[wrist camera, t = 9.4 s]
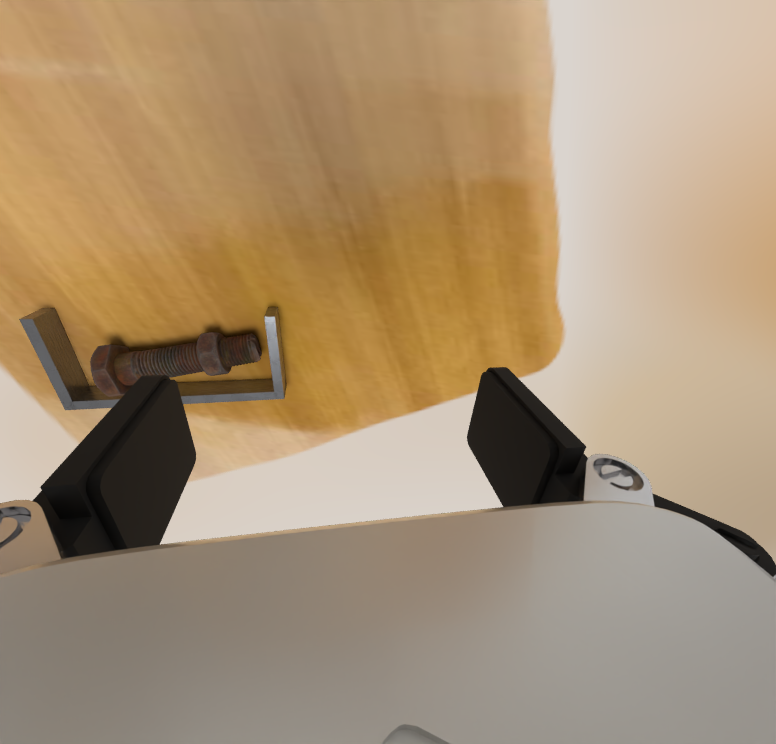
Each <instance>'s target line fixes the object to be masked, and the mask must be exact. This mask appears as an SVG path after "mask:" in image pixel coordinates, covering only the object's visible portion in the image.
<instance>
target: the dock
mask: <svg viewBox="0 0 776 744" xmlns="http://www.w3.org/2000/svg"><path fill="white" fill-rule="evenodd" d="M264 318H265V325H266V333H267V340H268V348H269V355H270V363H271V371H272V378H273V379H256V380H232V381H207V382H183V383H177V384H178V388H179V392H180V395H181V399H182V403H183V404H192V403H212V402H231V401H250V400H269V399H284V397H285V391H286V377H285V368H284V359H283V350H282V341H281V331H280V322H279V313H278V307H268V309H267V311H266V314H265V316H264ZM19 320H20V322H21V324H22V326H23V328H24V329H25V331H26V333H27V335H28V337H29V339H30V341H31V343H32V345H33V347H34V349H35V351H36V353H37V355H38V357H39V359H40V361H41V363H42V365H43V367H44V369H45V371H46V373H47V375H48V377H49V379H50V381H51V383H52V385H53V387H54V389H55V391H56V393H57V395H58V397H59V399H60V401H61V403H62V405H63V407H64V409H65V410H77V409H96V408H113V407H114V406H115V404H116V403H117V402H118V401H119V400H120V399H121V398H122V397H123V396H124V395H122V396H111V397H109V396H107V395H106V394H104V393H103V392H102V391H101V390H100V389H99V388H98V387H97V386H89V384H88V382H87V380H86V378H85V375H84V373H83V371H82V369H81V366H80V364H79V362H78V360H77V357H76V355H75V353H74V351H73V348H72V346H71V344H70V342H69V339H68V337H67V335H66V333H65V330H64V328H63V326H62V324H61V321H60V319H59V317H58V315H57V312H56V310H55V308H42V309H40V310H38V311H36V312H34V313H31V314H29V315H27V316H25V317H23V318H21V319H19Z"/></svg>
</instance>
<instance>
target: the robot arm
mask: <svg viewBox="0 0 776 744" xmlns="http://www.w3.org/2000/svg"><path fill="white" fill-rule="evenodd" d="M467 441H468V445H469V447H470V448H471V450H472V452H473V454H474V456H475V457H476V459H477V461H478V463H479V464H480V466H481V468H482V470H483V471H484V473H485V475H486V477H487V478H488V480H489V482H490V484H491V486H492V487H493V489H494V491H495V493H496V495H497V496H498V498H499V499H500V502H501V503H502V505H503V507H501V508H492V509H481V510H472V511H461V512H452V513H441V514H432V515H422V516H413V517H403V518H394V519H384V520H376V521H366V522H356V523H348V524H338V525H328V526H319V527H310V528H301V529H292V530H283V531H274V532H266V533H256V534H247V535H238V536H230V537H221V538H212V539H203V540H195V541H186V542H178V543H170V544H161V545H159V544H160V542H161V540H162V538H163V535H164V533H165V531H166V528H167V526H168V524H169V521H170V519H171V517H172V515H173V512H174V510H175V508H176V506H177V503H178V501H179V499H180V496H181V494H182V492H183V490H184V487H185V485H186V483H187V481H188V478H189V476H190V474H191V471H192V469H193V467H194V464H195V461H196V451H195V447H194V444H193V440H192V436H191V432H190V429H189V425H188V421H187V418H186V414H185V410H184V406H183V403H182V399H181V395H180V392H179V388H178V384H177V382H176V381H175V380H170V378H169V377H168V376H167V375H144V376H141V377H140V378H139V379H138V380H137V381H136V382H135V384H134V385H133V386H132V387H131V388H130V389H129V390H128V391H127V392H126V393H125V395H124V396H123V397H122V398H121V399H120V400H119V401H118V402H117V403H116V404H115V406H114V407H113V408H112V409H111V410H110V411H109V412H108V413H107V414H106V415H105V417H104V418H103V419H102V420H101V421H100V422H99V423H98V424H97V425H96V426H95V428H94V429H93V430H92V431H91V432H90V433H89V434H88V435H87V436H86V437H85V439H84V440H83V441H82V442H81V443H80V444H79V445H78V446H77V447H76V448H75V450H74V451H73V452H72V453H71V454H70V455H69V456H68V457H67V458H66V460H65V461H64V462H63V463H62V464H61V465H60V466H59V467H58V469H56V470H55V472H54V473H53V474H52V475H51V476H50V477H49V478H48V479H47V480H46V481H45V483H44V484H43V485H42V486H41V489H42V491H41V492H40V493H39V494H38V495H37V497H36V498H35V499H34V500H33V501H30V500H14V501H9V502H5V503H0V744H776V565H775V563H774V561H773V560H772V557H771V556H770V555H769V554H768V553H767V552H766V551H765V550H764V548H762V547H761V546H760V545H759V544H757V542H756V541H755V540H754V539H752V538H751V537H750V536H749V535H747V534H746V533H744V532H742V531H740V530H738V529H736V528H733V527H731V526H729V525H726V524H724V523H722V522H719V521H717V520H714V519H712V518H710V517H707V516H705V515H703V514H700V513H698V512H695V511H693V510H691V509H688V508H686V507H683V506H681V505H679V504H676V503H674V502H672V501H669V500H667V499H664V498H662V497H660V496H657V495H655V494H652V488H651V485H650V482H649V479H648V478H647V477H646V476H645V475H644V473H643V472H641V471H640V470H639V469H638V468H637V467H635V466H634V465H632V464H630V463H629V462H627V461H625V460H622V459H620V458H618V457H615V456H611V455H606V454H595V455H592V456H590V457H589V458H587V457H586V456H585V454H584V451H585V448H586V446H585V445H584V444H583V443H582V442H581V441H580V440H579V439H578V438H577V437H576V436H575V435H574V434H573V433H572V432H571V431H570V430H569V429H568V428H567V427H566V426H565V425H564V424H563V423H562V422H561V421H560V420H559V419H558V418H557V417H556V416H555V415H554V414H553V413H552V412H551V411H550V410H549V409H548V408H547V407H546V406H545V405H544V404H543V403H542V402H541V401H540V400H539V399H538V398H537V397H536V396H535V395H534V394H533V393H532V392H531V391H530V390H529V389H528V388H527V387H526V386H525V385H524V384H523V383H522V382H521V381H520V380H519V379H518V378H517V377H516V376H515V375H514V374H513V373H512V372H511V371H510V370H509V369H508V368H506V367H499V368H488V369H487V371H486V372H484V373H483V374H482V376H481V379H480V383H479V388H478V392H477V396H476V401H475V405H474V409H473V413H472V417H471V422H470V426H469V430H468V435H467Z"/></svg>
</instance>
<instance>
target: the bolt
mask: <svg viewBox="0 0 776 744" xmlns="http://www.w3.org/2000/svg"><path fill="white" fill-rule="evenodd" d="M261 355H262V352H261V348H260V345H259V342H258V339H257V338H256V336H255V335H253V334H252V333H251V334H247V335H246V334H245V335H241V336H240V335H238V337H237V336H235V337H233V336H232V337H228V338H227V337H226V338H225V337H224V336H223V335H222V334H221V333H217V332H210V333H204V334H201V335H200V337H199V338H198V341H197V342H195V343H188V344H182V345H178V346H171V347H170V346H169V347H165V348H158V349H151V350H145V351H133V352H130V350H129V348H128V347H125V346H118V345H104V346H98V347H97V349H96V350H95V351H94V353H93V355H92V357H91V362H90V363H91V372H92V376H93V380H94V382H95V384H96V386H97V387H98V388H99V389H100V390H101V391H102V392H103V393H104V394H106V395H107V396H109V397H111V396H122V395H125V393H126V392H127V391H128V390H129V389H130V388H131V387H132V386H133V385H134V384H135V382H136V381H137V380H138V379H139V378H140V377H141V376H144V375H167V376H168V377H169V378H170V377H176V376H180V375H181V376H182V375H186V374H192V373H196V372H203V371H205V373H206V374H207V375H209V376H214V375H221V374H227V373H229V372H230V370H231V367H232V366H235V365H237V366H238V365H242V364H245V363H246V364H248V363H251V362H252V363H254V362H257V361H259V360H260V359H261V358H260V356H261Z"/></svg>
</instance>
